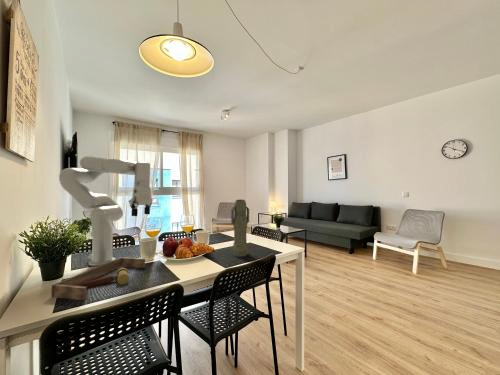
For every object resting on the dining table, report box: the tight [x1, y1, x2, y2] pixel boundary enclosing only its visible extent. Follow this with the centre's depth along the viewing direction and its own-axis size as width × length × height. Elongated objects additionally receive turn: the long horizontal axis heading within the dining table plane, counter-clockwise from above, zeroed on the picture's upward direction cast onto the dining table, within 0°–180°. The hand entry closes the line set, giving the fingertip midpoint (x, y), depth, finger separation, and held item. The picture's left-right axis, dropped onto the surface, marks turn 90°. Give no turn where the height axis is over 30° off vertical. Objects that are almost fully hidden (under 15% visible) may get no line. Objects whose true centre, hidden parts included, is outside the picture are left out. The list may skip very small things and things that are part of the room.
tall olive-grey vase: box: [230, 199, 250, 258], centre depth 138 cm, size 9×12×35 cm
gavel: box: [76, 267, 130, 289], centre depth 95 cm, size 21×5×10 cm
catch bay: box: [50, 256, 146, 301], centre depth 100 cm, size 15×35×4 cm, turn 170°
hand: (141, 215), depth 120 cm, fingers open, 9 cm apart
